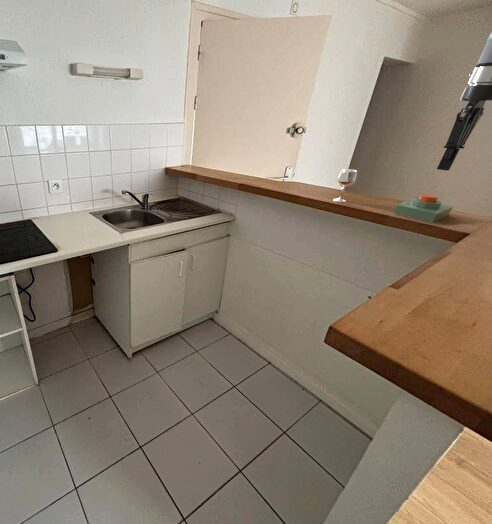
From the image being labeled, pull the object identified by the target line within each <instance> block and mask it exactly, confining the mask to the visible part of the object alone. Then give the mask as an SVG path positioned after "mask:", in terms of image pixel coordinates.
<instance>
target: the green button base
mask: <svg viewBox="0 0 492 524" xmlns="http://www.w3.org/2000/svg"><path fill="white" fill-rule="evenodd" d="M419 198H420V197H413V198H412V199H410V200H406V201H404V202H401V203H398V204H396V206H395V207H394V210H393V212H392V214H394V213H397V214H396V215H398V214H402V215H406V216H410V217H414V218H417V219H416V220H419V219H421V220H420V221H423V220H425V221H424V222H427V221H429V222H428V223H431V222H433V223H435V222H437V221H440V220H442V219H444V218H446V217H448V216H449V215H450V213H451V212H452V210H453V208H454V206H452V205H448V204H447V205H446V204H443V202H442V201H441V200H437V201H436V203H429V202H423V201H420V200H419ZM402 215H401V216H402ZM406 216H405V217H406ZM410 217H409V218H410ZM414 218H413V219H414Z"/></svg>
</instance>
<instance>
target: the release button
mask: <svg viewBox="0 0 492 524" xmlns="http://www.w3.org/2000/svg"><path fill="white" fill-rule="evenodd" d="M418 198H419V200H420V201H423V202H429V203H436V201H438V199H439V196H438V195H433V194H428V193H427V194H424V193H423V194H420V196H419V197H418Z"/></svg>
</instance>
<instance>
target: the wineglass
mask: <svg viewBox="0 0 492 524" xmlns="http://www.w3.org/2000/svg"><path fill="white" fill-rule="evenodd" d="M357 175H358V170H356V169H350V168H344V169H342V170H341V172H340V173H339V175H338V177H337V184H338V185H339V186H340V187H342V188H341V193H340V196H339V197H338V198H333V201H334V202H337V203H346V202H347V201H346V200H345V199H344V198H343V199H342V196H343V193H344V192H345V191H346V188H348V187H349V188H350V187H352V186H353V185H354V184H355V183H356V179H357Z"/></svg>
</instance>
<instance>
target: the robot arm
mask: <svg viewBox="0 0 492 524" xmlns="http://www.w3.org/2000/svg"><path fill="white" fill-rule="evenodd" d="M467 84H468V85H467V86H466V87H465V88H464V90H463V92H462V94H461V97H460V98H459V99H460V101H461V102H466V104H465V106H464V107H462V108H461V110H460V112H458V113H457V114H456V118H455V122H454V124H453V127H452V129H451V131H450V134H449V136H448V138H447V140H446V143H445V145H443V149H445V151H444V153H443V155H442V157H441V159H440V160H439V164H438V166H437V167H436V170H440V171H450V169H451V167H452V166H453V163H454V162H455V160H456V158H457V155H458V154H459V152H460V150H461V149H465V147H466V146H465V145H466V143H467V141H468V139H469V137H470V136H471V134H472V132H473V131H474V129H475V127H476V126H477V124H478V123H479V120H480V119H481V118H482V117H483V115H484V111H485V104H486V101H488V102H489V101H492V32H491V33H490V35H489V36H488V38H487V41H486V44H485V46H484V48H483V50H482V52H481V54H480V56H479V59H478V61H477V63H476V65H475V67H474V69H473V71H472V72H470V73H469V80H468V82H467Z"/></svg>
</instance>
